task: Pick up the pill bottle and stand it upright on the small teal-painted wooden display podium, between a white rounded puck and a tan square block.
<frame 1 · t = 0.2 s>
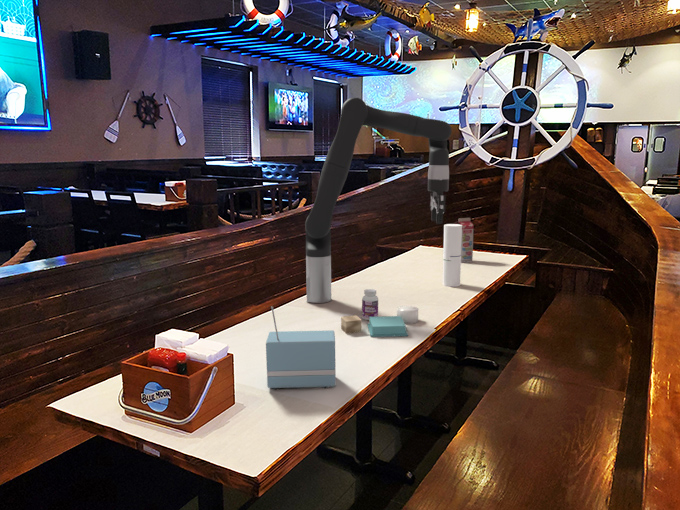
hand: (436, 222, 197), 29 cm above the table, fingers open, 8 cm apart
tan square block: (351, 330, 166), on the table
pill bottle: (370, 318, 178), on the table
white rounded puck: (407, 320, 176), on the table
juice carton: (463, 261, 272), on the table
cylindrical container: (451, 285, 223), on the table
podium: (386, 330, 166), on the table
radio: (302, 383, 129), on the table
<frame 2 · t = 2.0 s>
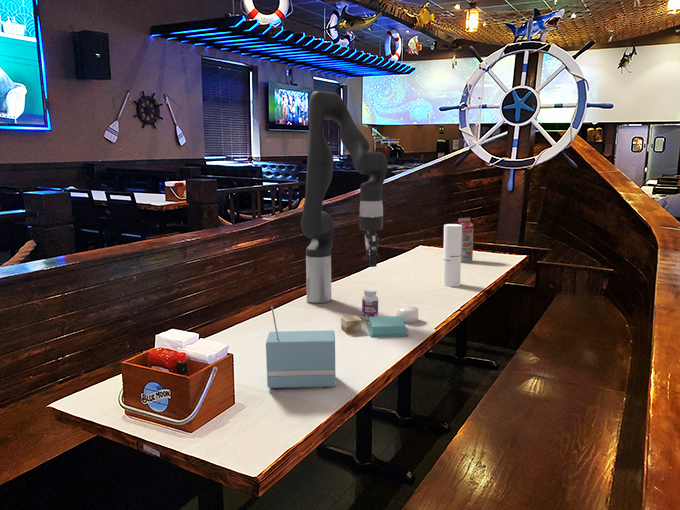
hand: (371, 264, 175), 18 cm above the table, fingers open, 8 cm apart
nothing on the table moved.
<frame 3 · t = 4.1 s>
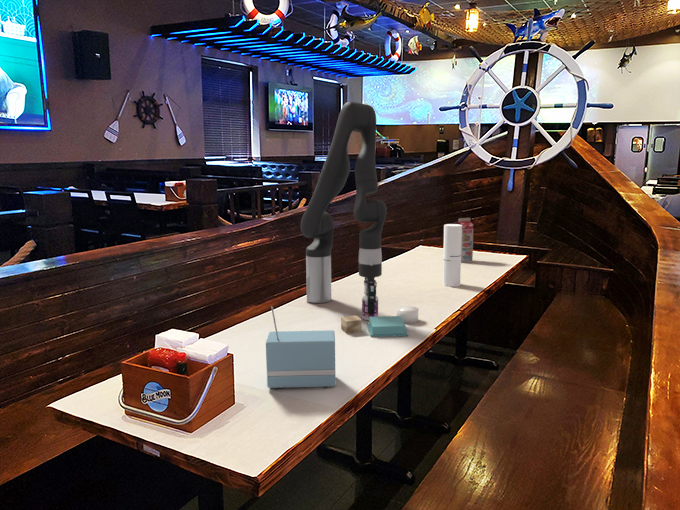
hand: (370, 311, 178), 2 cm above the table, fingers closed on pill bottle, 5 cm apart
pill bottle: (370, 318, 178), on the table, touching gripper
everything else where it was.
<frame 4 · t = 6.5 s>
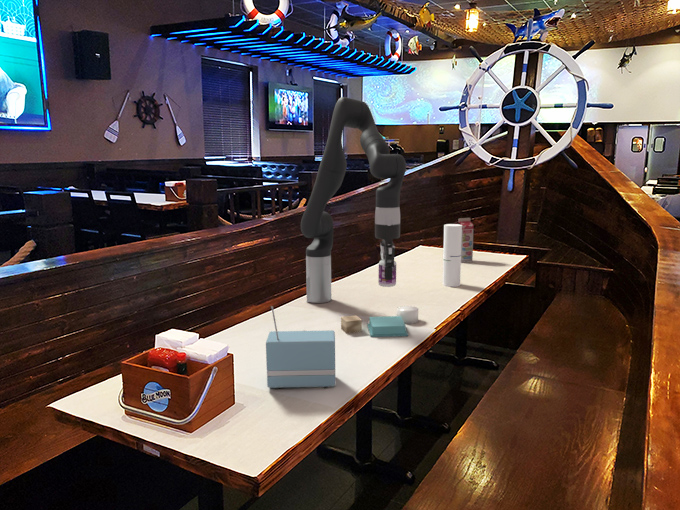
hand: (387, 277, 163), 17 cm above the table, fingers closed on pill bottle, 5 cm apart
pill bottle: (387, 285, 163), point 14 cm above the table, touching gripper
everything else where it was.
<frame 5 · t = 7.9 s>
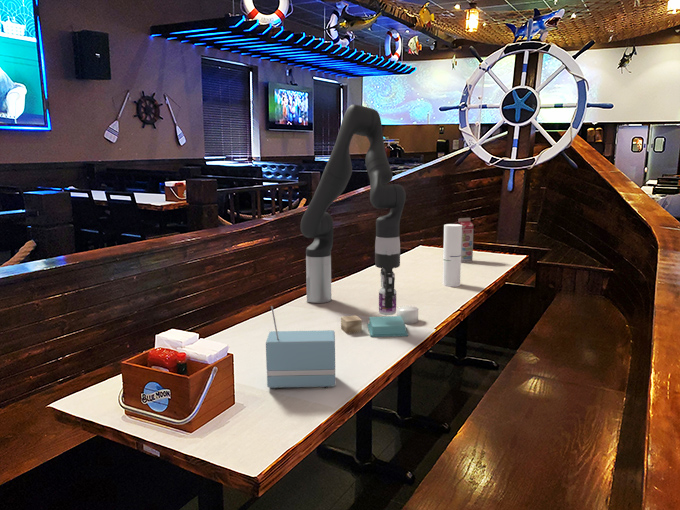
hand: (387, 305, 164), 8 cm above the table, fingers closed on pill bottle, 5 cm apart
pill bottle: (387, 313, 165), point 5 cm above the table, touching gripper
everything else where it was.
when the fingers open (6 cm above the table, at t = 8.9 s): pill bottle stays where it is, resting on podium.
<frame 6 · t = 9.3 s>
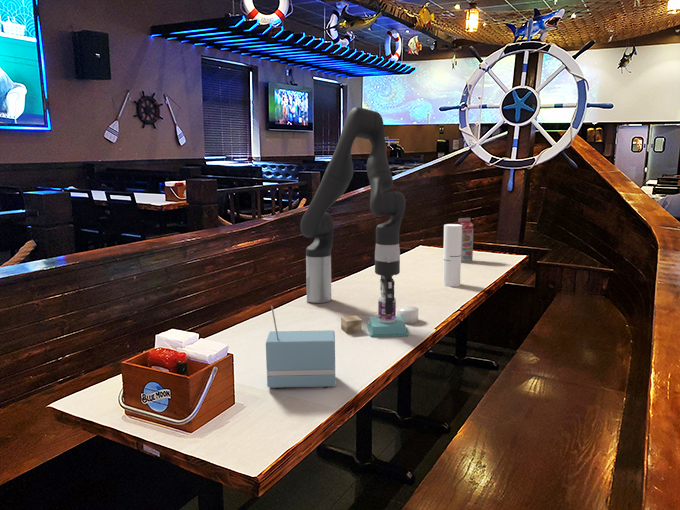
hand: (387, 309, 165), 7 cm above the table, fingers open, 8 cm apart
pill bottle: (386, 321, 165), point 3 cm above the table, touching podium
everything else where it was.
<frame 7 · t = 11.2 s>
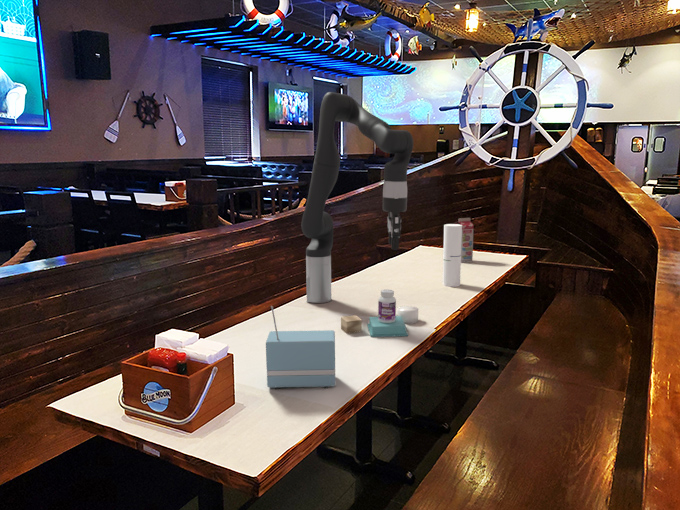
hand: (393, 247, 169), 25 cm above the table, fingers open, 8 cm apart
nothing on the table moved.
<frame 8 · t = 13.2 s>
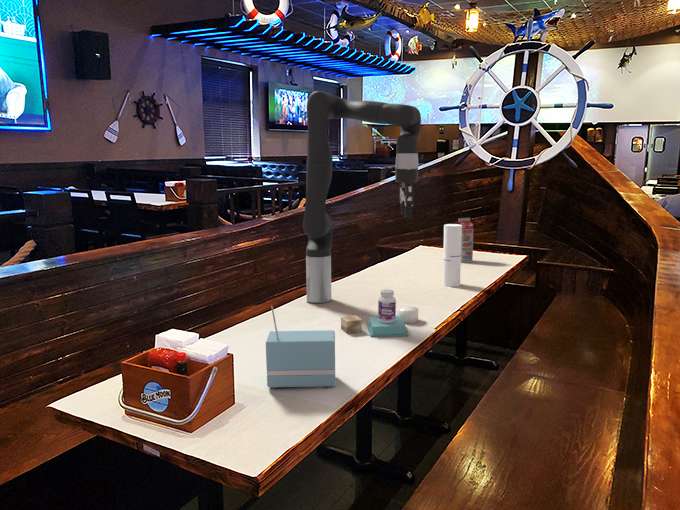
hand: (406, 216, 181), 33 cm above the table, fingers open, 8 cm apart
nothing on the table moved.
at the end: pill bottle inside the target area on the podium (0.1 cm from its centre), point 2.8 cm above the podium's base; pill bottle tilted 0°; the gripper is holding nothing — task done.
